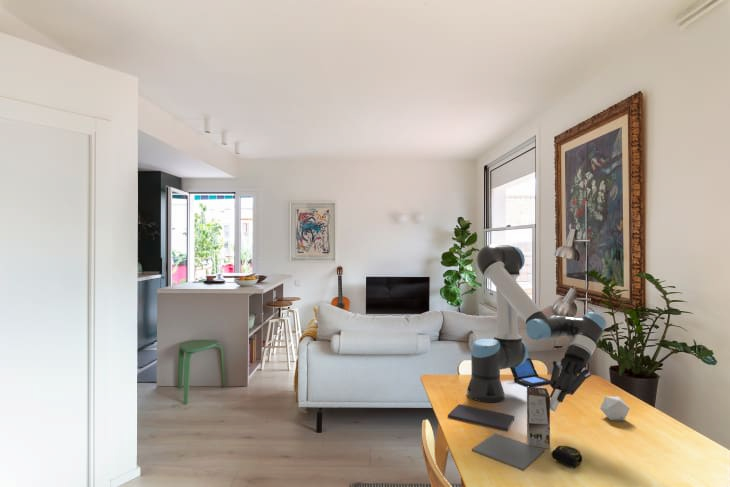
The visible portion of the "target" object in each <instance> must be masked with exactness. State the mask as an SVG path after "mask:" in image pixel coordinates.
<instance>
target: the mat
mask: <svg viewBox="0 0 730 487" xmlns="http://www.w3.org/2000/svg"><path fill="white" fill-rule="evenodd" d="M471 451H472V452H475V453H477V454H479V455H482V456H485V457H487V458H490V459H492V460H495V461H497V462H500V463H503V464H504V465H508V466H511V467H513V468H516V469H518V470H520V471H523V472H524V471H525V470H526V469H527V468H529V466H530V465H532V463H533V462H535V461H536V460H537V459H538V458H539V457H540V456H541V455H543V453H545V449H544V448H540V447H534V446H531V445H529V443H525V442H522V441H520V440H517V439H513V438H511V437H507V436H505V435H501V434H498V433H494V434H492V435H490V436H489V437H487V438H486V439H484V440H483V441H481V442H480V443H479V444H477V445H475V446H474V447H473V448H471Z"/></svg>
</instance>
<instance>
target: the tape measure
mask: <svg viewBox="0 0 730 487" xmlns="http://www.w3.org/2000/svg"><path fill="white" fill-rule="evenodd" d="M551 456H552V459H553V460H555V461H557V462H559V463H561V464H563V465H566V466H568V467H570V468H573V469H575V468H577V467H578V466H580V465H581V463H582V461H583V456H582V455H581V452H580V451H579V449H577V448H575V447H572V446H569V445H558V446H557V447H556V448H555V449H554V450H552V451H551Z"/></svg>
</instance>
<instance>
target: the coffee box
mask: <svg viewBox="0 0 730 487" xmlns="http://www.w3.org/2000/svg"><path fill="white" fill-rule="evenodd" d="M550 399H551V397H550V393H549V392H548V388H545V387H538V386H534V387H527V386H526V436H527V444H529V445H531V446H534V447H537V448H540V449H546V450H549V449H550V448H551V447H550V446H551V444H550V442H551V432H550V431H551V409H550Z"/></svg>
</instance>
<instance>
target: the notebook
mask: <svg viewBox="0 0 730 487" xmlns="http://www.w3.org/2000/svg"><path fill="white" fill-rule="evenodd" d="M447 418H448V419H453V420H457V421H462V422H466V423H471V424H474V425H478V426H479V425H480V426H482V427H483V426H484V427H487V428H492V429H495V430H499V431H503V432H508V430H509V428H510V426H511V425H512V424H513V422H514V421H515V415H512V414H508V413H503V412H498V411H495V410H489V409H484V408H479V407H474V406H471V405H465V404H460V403H459V404H457V405H456V406H455V407H454V408H453V409H452V410H451V411H450V412H449V413H448V414H447Z"/></svg>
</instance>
